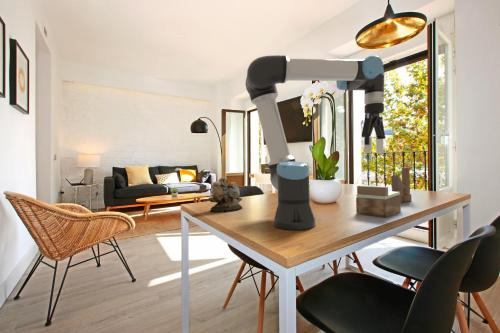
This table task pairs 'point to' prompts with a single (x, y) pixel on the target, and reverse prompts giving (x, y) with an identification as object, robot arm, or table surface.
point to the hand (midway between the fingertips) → (374, 153)
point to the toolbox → (378, 206)
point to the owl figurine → (225, 196)
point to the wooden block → (402, 185)
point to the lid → (375, 192)
